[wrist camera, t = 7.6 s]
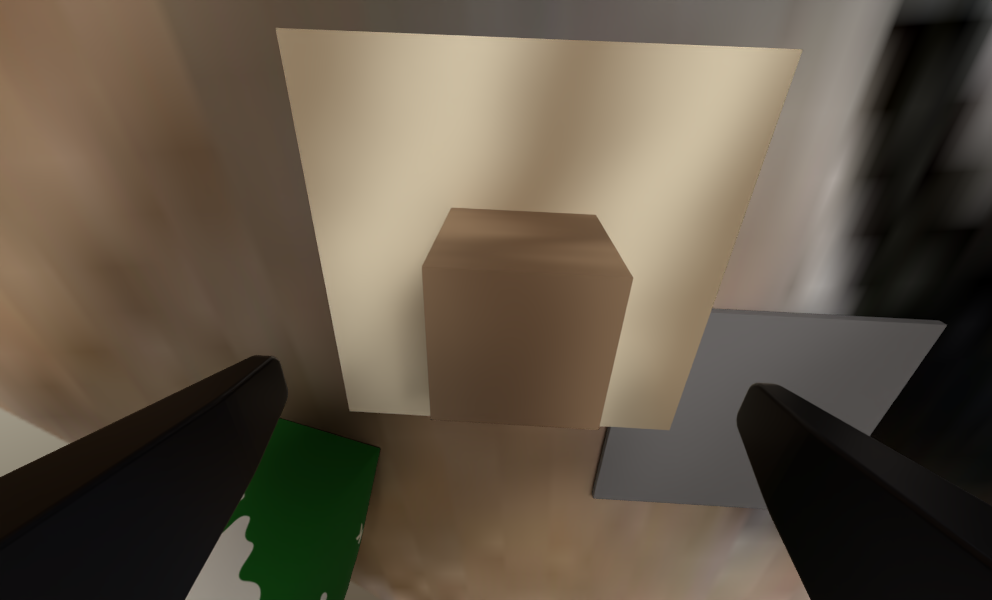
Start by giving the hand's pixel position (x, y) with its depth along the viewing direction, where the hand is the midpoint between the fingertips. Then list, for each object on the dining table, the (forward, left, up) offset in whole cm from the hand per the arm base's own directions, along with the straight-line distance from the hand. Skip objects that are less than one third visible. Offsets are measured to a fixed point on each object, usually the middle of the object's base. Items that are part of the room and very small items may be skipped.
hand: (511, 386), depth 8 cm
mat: (-13, +11, -11) cm, 20 cm away
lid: (0, 0, -6) cm, 6 cm away
